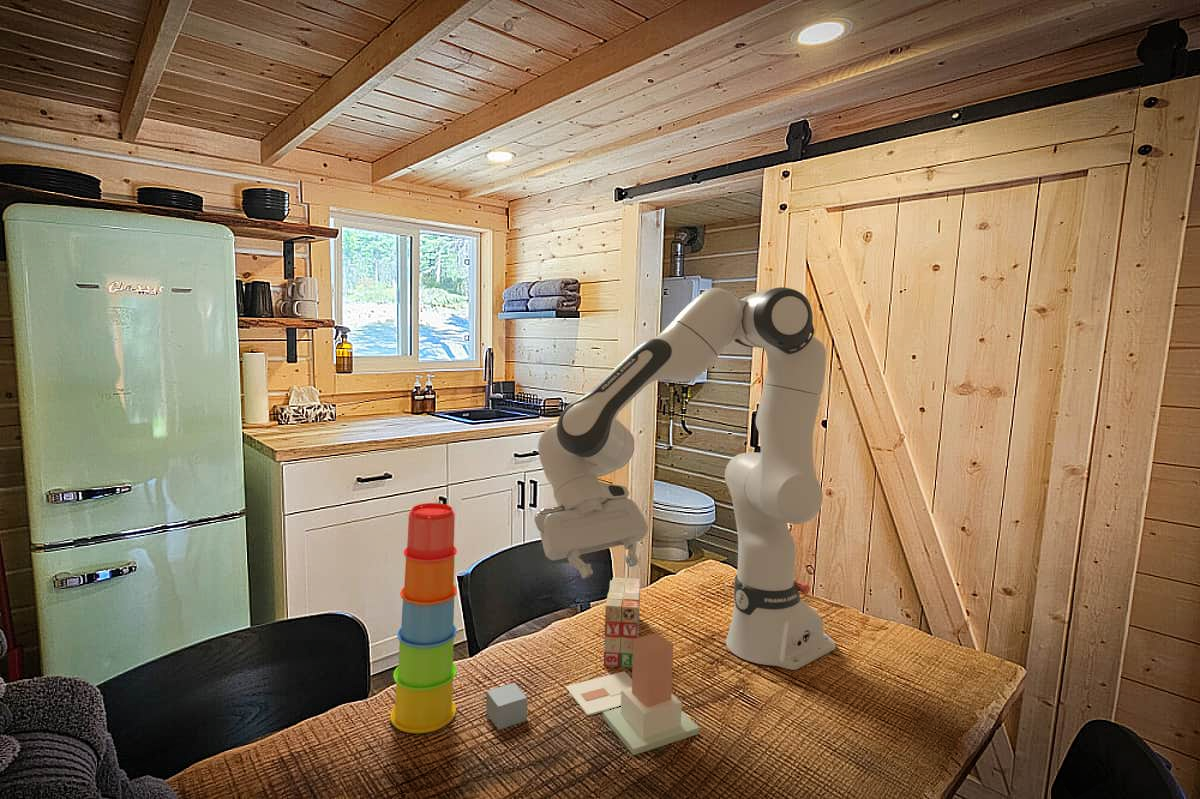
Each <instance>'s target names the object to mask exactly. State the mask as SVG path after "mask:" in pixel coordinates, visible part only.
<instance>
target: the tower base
mask: <svg viewBox="0 0 1200 799" xmlns="http://www.w3.org/2000/svg"><path fill="white" fill-rule="evenodd" d="M682 706H683V702H682V701H681V700H680V699H679V698H678V697H677V696H675V694H673V693H672V696H671V699H670V700H668V701H665V702H662V703H660V704H657V705H654V706H651V707H649V708H648V707H647V706H646V705H645V704H644V703H643V702H641V701H640V700H639V699H638V698H637V697H636V696H635V695H633V694H632V687H630V688H627V689H623V690H621V707H618V708H614V709H611V710H607V711H604V712H602V719H603V720H604V722H605V723H606V724H607V725H608V726H609V728H610V729H611V730H612V732H613V733H615V735H616V736H617V738H619V740H620V741H621V742H622V744H623V745H624V746H625V747H626V749H628V751H629V752H630V753H631V755H632V756H636V755H639V754H641V753H644V752H648V751H651V750H654V749H657V748H660V747H663V746H666V745H670V744H672V743H675V742H678V741H681V740H684V739H688V738H690V737H694V736H696V735H699V734H700V728H701V727H700V726H698V724H696V722H694V720H693V719H691V718H690V717H689V716H688V715H687V714H686V713H685V712H684V711H683V710H682Z"/></svg>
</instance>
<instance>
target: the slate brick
mask: <svg viewBox="0 0 1200 799" xmlns="http://www.w3.org/2000/svg"><path fill="white" fill-rule="evenodd" d="M485 694H486V698H485V699H486V700H485V701H486V703H485V705H486V706H485V707H486V708H485V713H487V714H486V715H487V717H488V716H489V717H490V718H489V717H488V718H489V720H490V721H491V722H492V724H493V723H494V724H493V725H494V727H495V726H496V727H497V728H496V727H495V728H496V730H497V731H498V730H499V729H500V730H501V729H502V728H503V729H505V728H508V727H511V726H514V725H518V724H520V723H523V722H526V721H528V696H526V694H525V693H524V691H523V690H522V689H521V688H520V687H519V686H518V685H517V683H516V682H513V683H509V684H505V685H502V686H499V687H498V686H497V687H494V688H492V689H489V690H486V693H485ZM504 727H505V728H504ZM503 729H502V730H503Z"/></svg>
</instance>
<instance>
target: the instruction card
mask: <svg viewBox="0 0 1200 799" xmlns="http://www.w3.org/2000/svg"><path fill="white" fill-rule="evenodd" d="M630 687H632V676H630V675H629V674H628V672H626V671H625V670H624V671H619V672H617V673H613V674H608V675H604V676H600V677H597V678H593V679H589V680H585V681H581V682H577V683H573V684H569V685H566V686H565V689H567V690H568V691H569V692H568V691H567V690H566V691H567V692H568V694H571V695H572V696H571V695H570V696H571V698H572V699H573V700H574V699H575V700H574V701H575V702H576V704H577V705H578V704H579V705H578V706H579V707H580V709H581V710H582V711H583V712H584V714H585V715H586V716H587V717H589V716H593V715H596V714H599V713H603V712H605V711H609V710H610V709H611V710H612V709H613V708H614V709H616V708H617V707H618V708H619V706H621V690H623V689H627V688H630Z"/></svg>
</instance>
